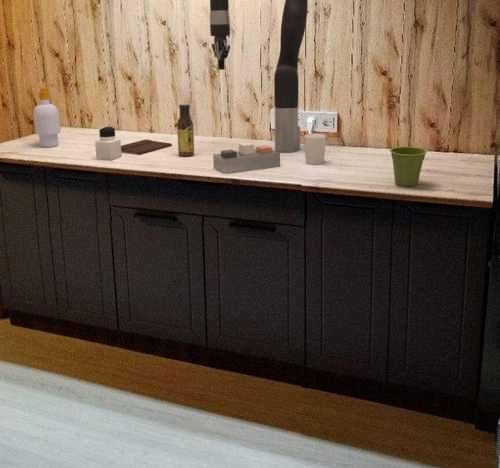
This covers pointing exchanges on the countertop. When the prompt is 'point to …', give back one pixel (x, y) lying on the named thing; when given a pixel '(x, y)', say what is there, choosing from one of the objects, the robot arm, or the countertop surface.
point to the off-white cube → (246, 148)
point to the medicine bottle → (108, 144)
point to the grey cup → (315, 148)
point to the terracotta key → (263, 149)
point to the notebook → (143, 147)
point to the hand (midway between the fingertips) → (221, 69)
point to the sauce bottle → (185, 132)
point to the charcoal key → (228, 153)
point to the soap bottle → (46, 121)
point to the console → (246, 161)
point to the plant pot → (407, 164)
